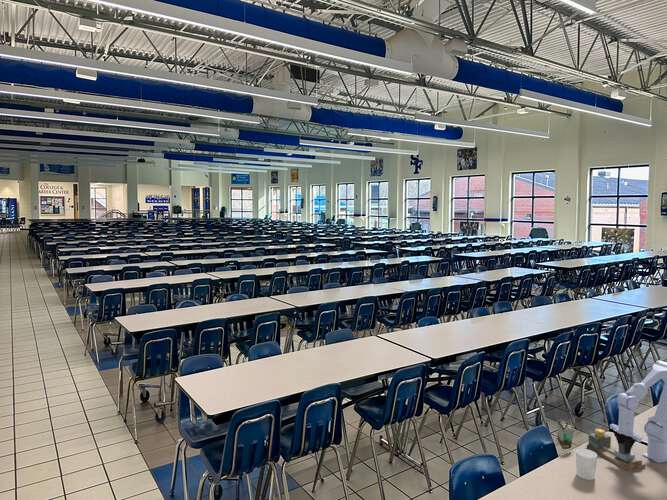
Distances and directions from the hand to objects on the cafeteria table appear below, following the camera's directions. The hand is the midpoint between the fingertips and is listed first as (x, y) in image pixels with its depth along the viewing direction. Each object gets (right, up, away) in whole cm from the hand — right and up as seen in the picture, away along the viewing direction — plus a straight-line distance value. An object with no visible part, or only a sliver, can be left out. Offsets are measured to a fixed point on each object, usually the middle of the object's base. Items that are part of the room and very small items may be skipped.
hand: (624, 450), depth 213 cm
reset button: (-4, -1, +13) cm, 13 cm away
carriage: (0, -4, 0) cm, 3 cm away
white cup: (-24, -6, -11) cm, 27 cm away
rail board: (-1, -5, +5) cm, 7 cm away
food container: (-18, -4, +17) cm, 25 cm away
